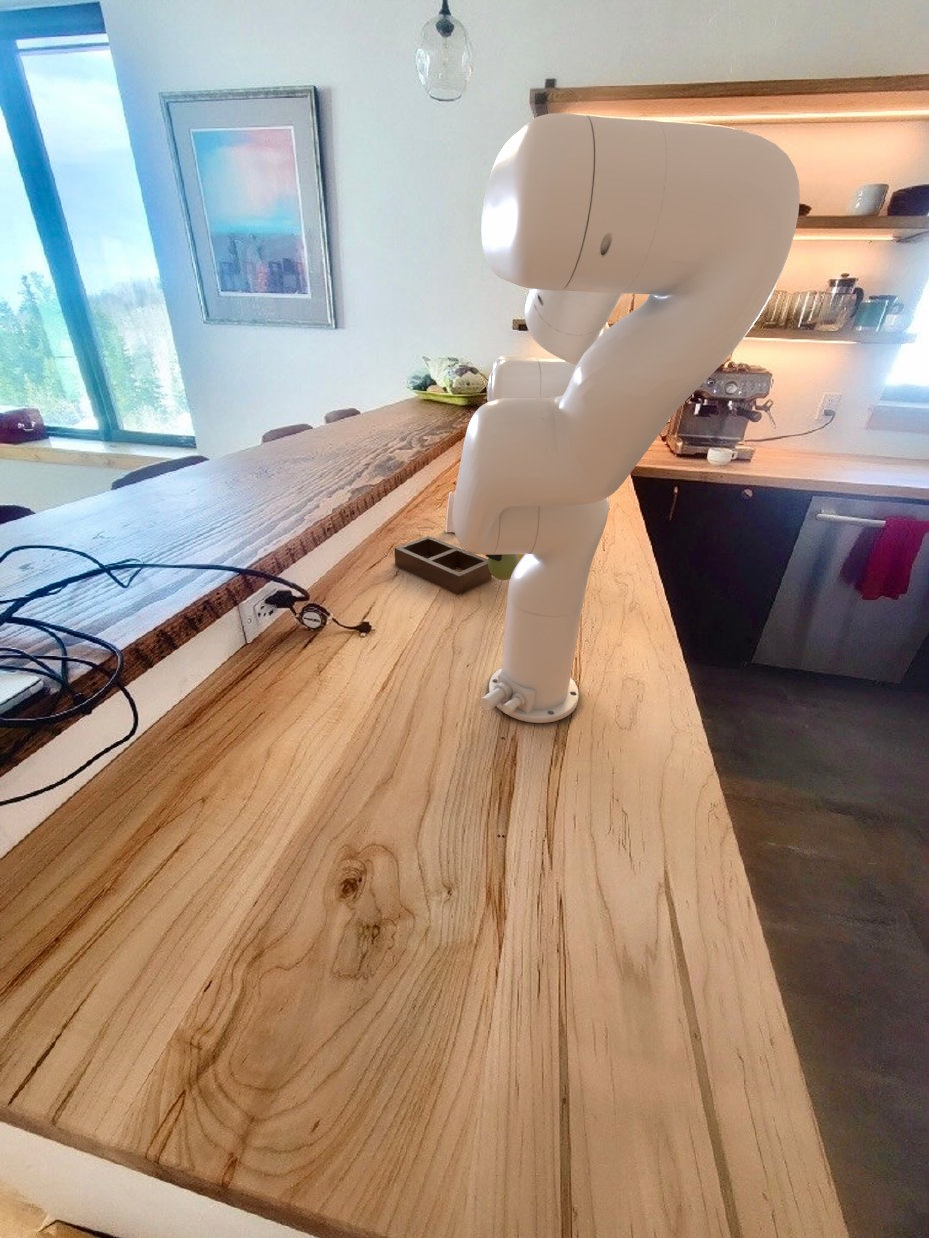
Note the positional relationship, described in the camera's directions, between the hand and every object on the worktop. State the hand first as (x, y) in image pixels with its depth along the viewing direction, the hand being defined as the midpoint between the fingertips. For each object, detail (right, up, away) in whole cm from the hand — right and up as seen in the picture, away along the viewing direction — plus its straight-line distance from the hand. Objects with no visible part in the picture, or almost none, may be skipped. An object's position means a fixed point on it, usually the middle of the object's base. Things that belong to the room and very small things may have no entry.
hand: (504, 552), depth 87 cm
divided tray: (-12, -2, +18) cm, 21 cm away
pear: (0, -4, +3) cm, 5 cm away
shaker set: (-5, +10, +38) cm, 39 cm away
